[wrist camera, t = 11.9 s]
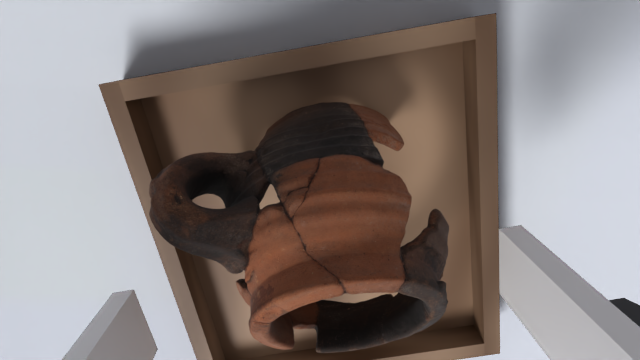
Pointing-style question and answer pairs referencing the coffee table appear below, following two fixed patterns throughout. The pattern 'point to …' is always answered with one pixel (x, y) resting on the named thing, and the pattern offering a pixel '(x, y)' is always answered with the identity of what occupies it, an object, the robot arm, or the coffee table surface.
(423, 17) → the coffee table surface
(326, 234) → the pottery mug
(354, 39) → the walnut tray
